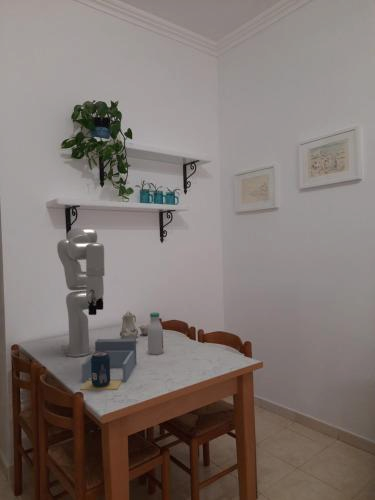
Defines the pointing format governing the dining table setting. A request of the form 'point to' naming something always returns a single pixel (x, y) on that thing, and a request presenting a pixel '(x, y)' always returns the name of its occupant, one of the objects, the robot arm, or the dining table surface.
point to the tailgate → (111, 386)
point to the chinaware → (131, 327)
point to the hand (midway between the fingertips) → (96, 312)
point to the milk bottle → (155, 335)
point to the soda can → (100, 369)
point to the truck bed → (114, 356)
